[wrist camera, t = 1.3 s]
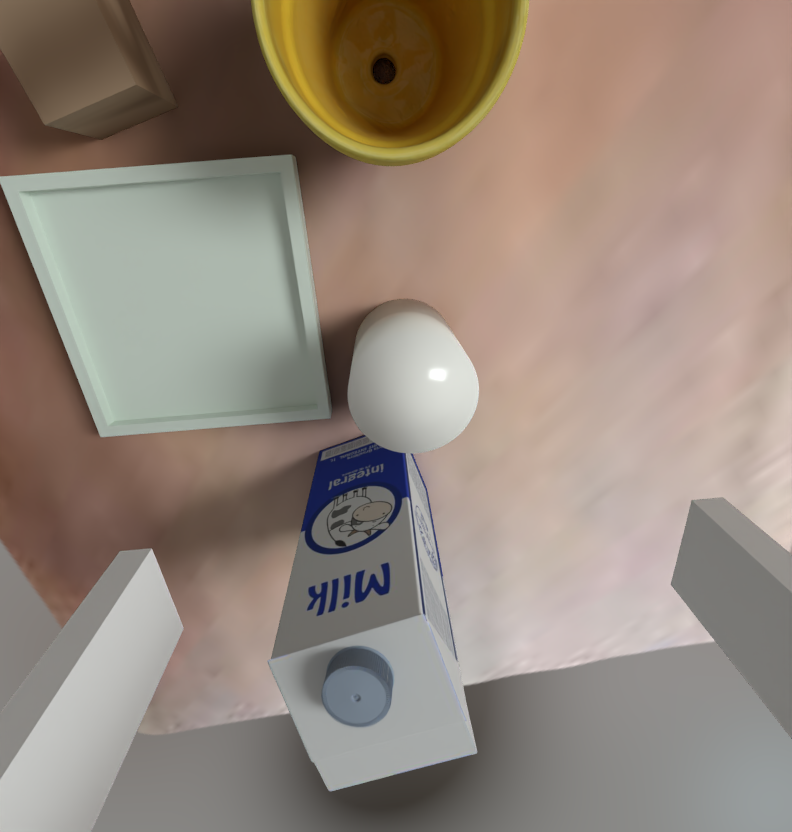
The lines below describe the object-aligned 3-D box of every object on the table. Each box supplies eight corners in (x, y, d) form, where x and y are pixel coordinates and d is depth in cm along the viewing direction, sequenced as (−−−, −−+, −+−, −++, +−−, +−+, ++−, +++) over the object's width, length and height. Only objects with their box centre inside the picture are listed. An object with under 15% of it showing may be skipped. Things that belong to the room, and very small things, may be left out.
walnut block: (46, 37, 24) (-30, -4, 19) (128, -1, 23) (70, -52, 19) (102, 139, 26) (44, 125, 21) (178, 107, 26) (136, 84, 21)
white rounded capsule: (349, 302, 30) (339, 337, 22) (451, 294, 30) (479, 325, 22) (360, 397, 33) (355, 458, 25) (453, 390, 33) (478, 448, 25)
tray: (17, 178, 27) (-2, 177, 25) (295, 157, 27) (291, 154, 25) (111, 427, 34) (100, 437, 32) (332, 410, 34) (330, 418, 32)
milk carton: (350, 516, 38) (326, 798, 20) (317, 451, 35) (254, 709, 17) (429, 490, 37) (480, 758, 19) (401, 421, 34) (430, 658, 16)
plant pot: (354, 211, 28) (345, 211, 19) (255, 26, 24) (185, -80, 15) (505, 117, 26) (571, 70, 17) (425, -98, 22) (457, -302, 13)
